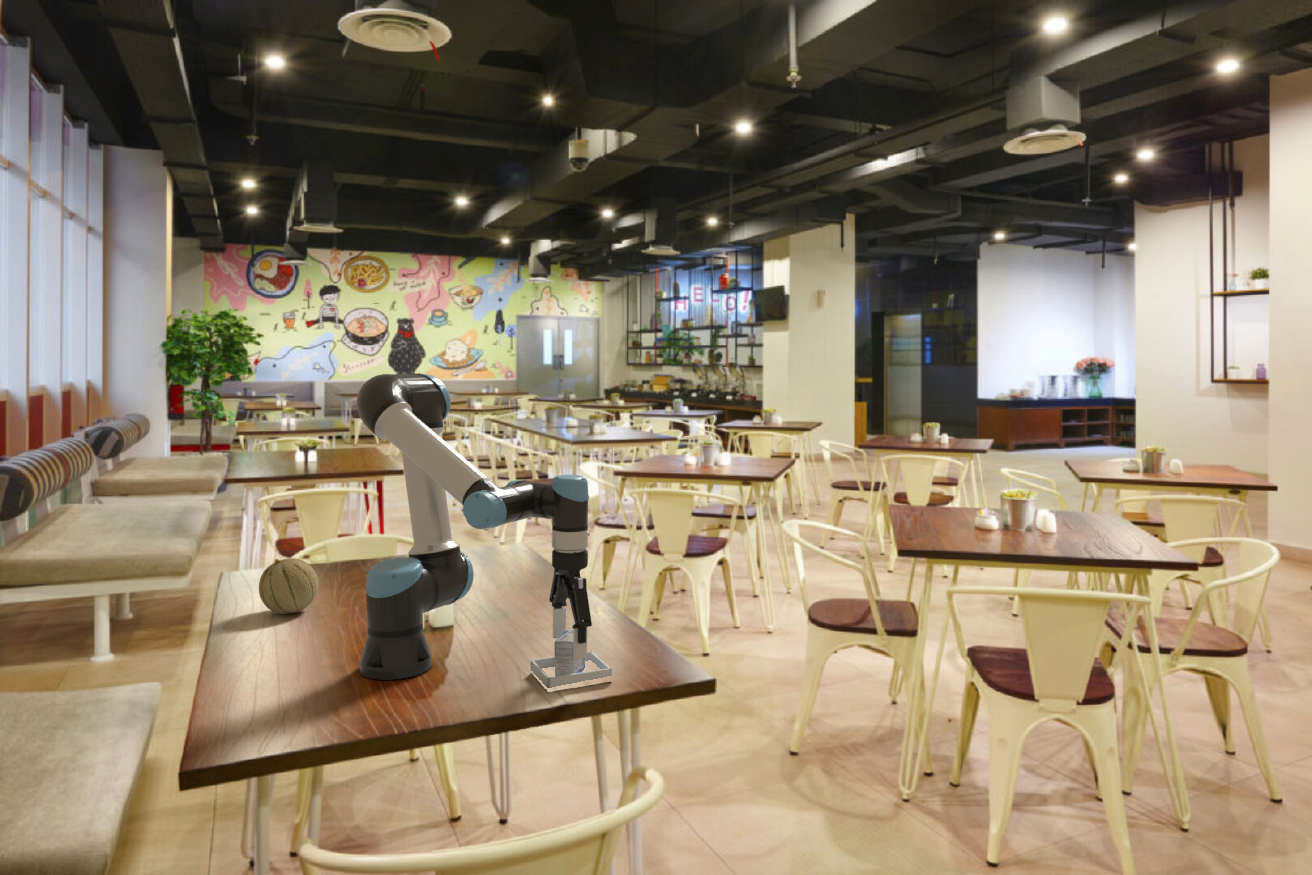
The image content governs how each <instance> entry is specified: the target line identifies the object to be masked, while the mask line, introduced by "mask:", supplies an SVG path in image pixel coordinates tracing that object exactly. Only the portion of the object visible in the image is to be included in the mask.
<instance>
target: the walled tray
mask: <svg viewBox="0 0 1312 875" xmlns="http://www.w3.org/2000/svg"><path fill="white" fill-rule="evenodd" d="M588 660H591V661H592V662H593V663H595V664H596V665H597V667H599V668H600V669H601V670H594V671H588V672H581V673H575V674H568V675H562V676H555V677H548V676H547V675H546V673H545V672H544V671H543V670H542V668H548V667H555V656H549V657H543V658H536V659H530V672H531V671H533V673H534V674H535V675H536V676H537V677H538V678H539V680H541V681H542V683H543V684H544V685H545V686H546V687H547V688H552V687H556V686H561V685H566V684H572V683H577V682H581V681H585V680H593V679H598V678H603V677H607V676H612V677H613V674H612V672H613V671H612V670H613V669H612V668H611V667H610V666H609V665H608V663H606V662H605V661H604V660H602V658H600V656H598V655H596V654H595V652H593V651H592V650H591V651H587V657H585V661H588Z"/></svg>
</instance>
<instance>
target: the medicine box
mask: <svg viewBox="0 0 1312 875" xmlns="http://www.w3.org/2000/svg"><path fill="white" fill-rule="evenodd" d="M553 643H554V645H553V646H554V649H553V650H554V652H553V653H554V657H555V676H562V675H568V674H575V673H581V672H582V671H583V670H584V668H585V657H584V658H577V659H574V658H573V629H567V630H566V631H565V632H564V633H563V634H562V635H561V636H560V637H559V638H556V639H555V641H554V642H553Z"/></svg>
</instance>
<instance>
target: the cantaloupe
mask: <svg viewBox="0 0 1312 875" xmlns="http://www.w3.org/2000/svg"><path fill="white" fill-rule="evenodd" d="M318 578H319V577H318V575H317V572H316V571H315V570H314V568H313V567H312V566H311V565H310V564H309V563H308V562H306V561H304V560H302V559H299V558H293V557H292V558H291V557H290V558H284V559H278V558H277V559H275V560H274V562H273V563H272V564H270V565H269V566H267V567H266V569H264V571H263V572H262V574H261V576H260V578H259V583H258V594H259V597H260V599H261V601H262V603H263V604H264V606H265V607H266V608H267V609H268V610H269V611H271V612H274V613H277V614H282V615H290V614H294V613H299V612H301V611H304V610H305V609H307V608H308V607H309V606H310V605H311V604H312V603H313V602H314V600H315V598H316V597H317V593H318V590H319V579H318Z"/></svg>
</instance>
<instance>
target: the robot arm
mask: <svg viewBox="0 0 1312 875" xmlns="http://www.w3.org/2000/svg"><path fill="white" fill-rule="evenodd" d="M451 406H452V403H451V395H450V391H449V389H448V388H447V386H446V385H445V383H444V382H443V381H441V380H440V379H439V378H438V377H436V376H435V375H432V374H427V373H420V372H419V373H395V374H394V373H393V374H391V373H382V374H378V375H374V376H373V377H370V378H369V379H367V380H366V381H365V382H364V383H363V384H362V385H361V387H360V388H359V391H358V394H357V396H356V411H357V413H358V416H359V418H360V420H361V421H362V423H363V424H364V425H365V427H366V428H367V429H368V430H369V431H370V432H371V433H372V434H373V435H375V436H376V437H377V438H378V439H380V440H383V441H386V440H388V441H389V442H390V443H391V444H392V445H394V446H395V447H396V448H397V449H398V450H399V451H400V452H401V458H402V464H403V472H404V473H403V474H404V478H405V487H406V495H407V501H408V503H407V504H408V509H409V517H410V525H411V531H412V539H413V545H412V547H411V548H410V549H409V551H408V557H407V556H405V557H404V556H403V557H396V558H394V559H393V558H390V559H386V560H382V561H380V562H378V563H375V564H373V565H372V566H371V567H370V568H369V570H368V571H367V573H366V584H365V588H364V589H365V595H366V596H365V598H366V622H367V623H366V626H367V637H366V640H365V644H364V647H363V650H362V654H361V657H360V660H359V673H360V675H361V676H363V677H365V678H366V679H370V678H371V679H370V680H375V679H377V681H397V680H396V679H398V680H403V679H402V678H405V679H409V678H408V677H410V678H413V677H412V676H414V677H416V676H420V675H421V674H424V673H426V672H427V671H429V670H431V668H430V667H433V666H432V665H433V656H432V652H431V649H430V647H429V644H428V640H427V638H426V636H425V633H424V623H423V622H424V613H425V614H426V613H427V612H430V611H432V610H433V611H434V610H436V609H439V608H442V607H444V606H449V605H452V604H454V603H455V602H458V601H459V600H461V599H463V598H464V597H465V596H466V595H467V594H468V593H469V591H470V590H471V588H472V585H473V582H474V574H475V573H474V572H475V571H474V567H473V563H472V561H471V560H470V558H469V559H468V555H466V554H465V553H464V552H462V551H461V547H460V544H459V543H458V542H457V541H456V540H454V539H453V536H452V530H451V523H450V522H451V521H450V516H449V515H450V514H449V507H448V506H449V505H448V501H447V493H448V494H450V495H451V497H453V498H454V499H455V500H456V501H458V503H460V504H461V505H462V514H463V516H464V518H465V519H466V523H467V524H468V525H470V526H471V527H472V528H474V529H478V530H484V529H485V530H486V529H493V528H497V527H499V526H503V525H506V524H509V523H513V522H514V523H515V522H517V521H518V522H519V521H522V520H525V519H529V518H539V519H540V518H541V519H546V520H547V519H548V520H551V548H553V550H552V551H551V566H552V568H553V577H552V582H551V588H550V593H549V599H548V601H549V602H550V603H551V606H552V638H553V639H558V638H559V637H560V636H561V635H562V634H563V633H564V632H565V631H566V628H567V627H566V622H567V621H566V620H567V619H566V618H567V616H566V615H567V608H566V607H567V606H568V604H567V599H568V600H569V604H570V608H571V612H572V616H573V621H574V624H573V625H572V630H573V658H574V659H577V658H584V657H587V652H588V627H592V626H593V625H592V624H593V622H592V616H591V610H590V603H589V597H588V596H589V595H588V590H587V589H588V588H587V578H586V577H582V576H581V571H582V570H584V569H586V568H587V567H588V565H589V562H588V561H589V560H588V559H589V550H588V549H587V548H588V544H589V543H588V542H589V540H588V539H589V537H590V535H591V534H590V531H589V523H588V522H589V499H590V496H589V481H588V479H587V477H585V476H583V475H580V474H559V475H556V476H553V478H552V480H551V481H552V482H551V483H548V482H540V481H530V480H527V479H522V480H518V479H517V480H510V481H508V482H507V484H506V485H505V486H501V487H500V486H498V485H497V484H496V483H495V482H493V481H492V480H491V479H489V477H487V476H486V475H485V474H484V473H482V472H481V471H480V470H479V469H478V468H477V467H476V466H474V464H472V463H471V462H470V461H468V460H467V459H466V457H464V456H463V455H462V454H461V453H459V452H458V451H457V450H456V449H455V448H453V447H452V446H451V445H450V444H449V443H448V442H446V441H445V440H444V438H442V437H441V436H440V435H441V433H442V432H443V430H444V429H445V427H444V420H445V419H446V418H447V417H448V415H449V412H450V411H451ZM446 492H447V493H446ZM425 671H426V672H425ZM423 672H424V673H423ZM419 674H420V675H419ZM394 679H395V680H394Z"/></svg>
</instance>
